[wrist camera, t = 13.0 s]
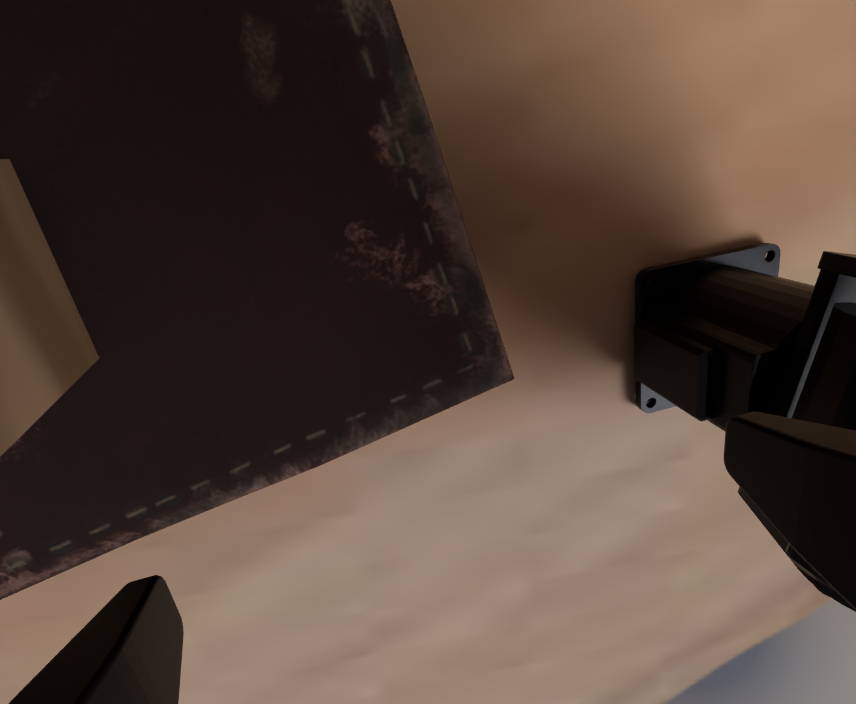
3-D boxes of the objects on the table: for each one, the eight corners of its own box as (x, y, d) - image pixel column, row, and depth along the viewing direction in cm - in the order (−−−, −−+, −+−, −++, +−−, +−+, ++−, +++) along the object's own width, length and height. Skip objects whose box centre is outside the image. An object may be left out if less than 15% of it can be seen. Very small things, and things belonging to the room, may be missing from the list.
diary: (-694, 96, 13) (-1257, 54, 8) (276, -217, 15) (266, -391, 10) (-129, 616, 20) (-260, 752, 15) (476, 352, 22) (523, 401, 17)
